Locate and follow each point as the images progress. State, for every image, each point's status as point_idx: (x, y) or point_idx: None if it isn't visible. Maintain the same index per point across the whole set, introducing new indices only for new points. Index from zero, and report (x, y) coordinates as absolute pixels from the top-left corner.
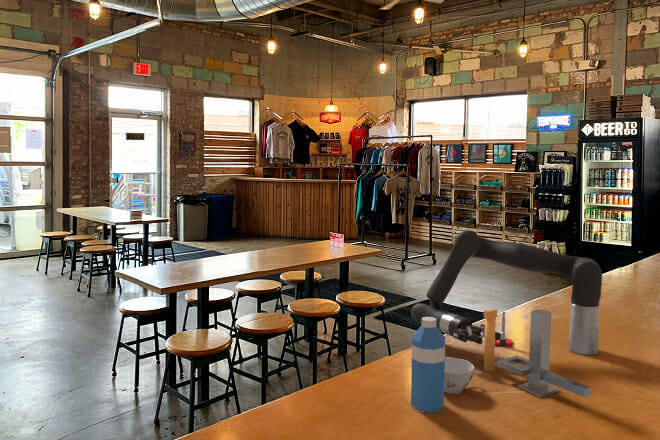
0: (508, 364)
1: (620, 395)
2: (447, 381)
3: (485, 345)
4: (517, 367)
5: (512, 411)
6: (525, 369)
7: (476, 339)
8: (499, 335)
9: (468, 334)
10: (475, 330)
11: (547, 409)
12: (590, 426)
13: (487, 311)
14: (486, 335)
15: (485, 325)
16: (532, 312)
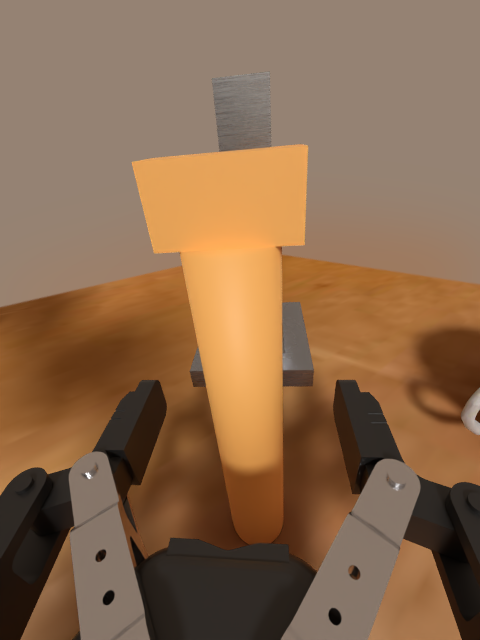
0: (299, 337)
1: (158, 289)
2: None
3: (282, 438)
4: (292, 317)
5: (398, 310)
6: (283, 305)
7: (377, 409)
8: (159, 385)
9: (411, 511)
10: (235, 563)
11: (320, 298)
12: (302, 266)
13: (298, 145)
14: (282, 378)
15: (278, 323)
16: (269, 79)
